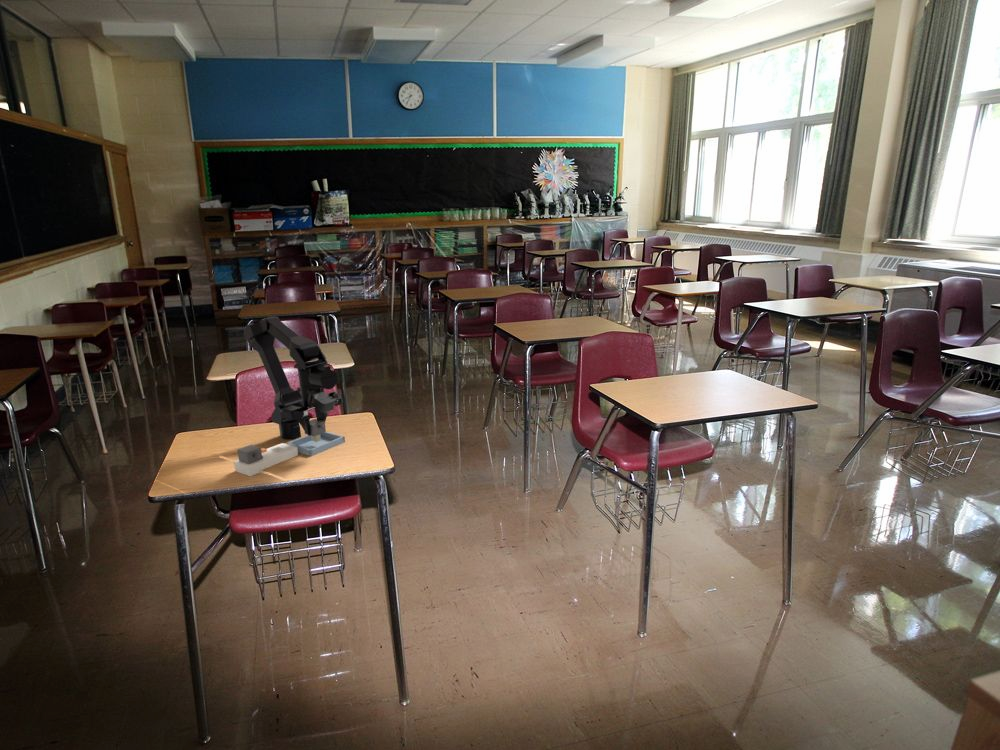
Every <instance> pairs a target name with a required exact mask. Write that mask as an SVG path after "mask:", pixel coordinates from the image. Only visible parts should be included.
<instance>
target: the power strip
mask: <svg viewBox="0 0 1000 750" xmlns="http://www.w3.org/2000/svg"><path fill="white" fill-rule="evenodd" d="M236 451H237V457H238V459H237V460H234V461H233V465H234V470H235V472H237V473H240V474H241V475H242V474H243V475H244V476H245V475H246V477H247V476H248V477H252V476H255V475H258V474H259V473H262V472H264V471H266V469H267V468H269V467H273V466H275V465H277V464H280V463H282V462H285V461H288V460H290V459H291V458H294V457H297V456H299V452H298V451H297V447H294V446H291V445H287V443H284V442H281V443H279V444H275V445H273V446H271V447H268V448H264V447H262V448H261V447H260V446H257V445H254V444H249V445H246V446H243V447H240V448H238V449H237V450H236Z"/></svg>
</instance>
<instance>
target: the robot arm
mask: <svg viewBox="0 0 1000 750" xmlns="http://www.w3.org/2000/svg"><path fill="white" fill-rule="evenodd" d="M243 336H244V338H245V339H246V341H247V343H248V345H249V347H250V348H252V349H253V350H255V352H257V353H258V355H259V357H260V359H261V362H262V364H263V367H264V369H265V372H266V374H267V376H268V379H269V381H270V384H271V386H272V388H273V391H274V394H275V396H274V401H273V406H274V410H273V412H272V413H271V415H270V418H271V421H272V423H274V424H277V425H278V427H279V436H280V438H281V439H282V440H297V439H299V438H302V433H301V432H302V431H301V428H302V429H303V431H304V433H305V432H306V434H305V435H306V436H307V435H308V436H310V435H311V430H310V422H309V421H310V420H311V418H312V415H310V414H309V412H308V411H312V410H314V411H315V416H316V419H318V420H322V421H325V422H326V421H327V417H328V414H329V413H330V412H331V411H333V410H335V407H337V406H340V405H343V398H342V396H341V395H340V394H339V393H338V392H337V391H331V392H325V390H332V389H333V388H334V387H335V386H336V385H337V383H338V378H339V377H338V375H337V373H336V371H334V370H333V369H331V365H329V364H328V361H327V357H326V356H325V354H324V353H323V351H322V350H321V349H322V348H321V347H320V346H319V344H318V343H317V342H316V341H314V339H313V340H312V339H311V338H308V337H303V336H300V335H299V334H298V333H296V332H295V331H293V330H292V329H291V328H290V327H289V326H287V325H286V324H285V323H284V322H282V320H281V318H280V317H278V316H270V317H264V318H263V319H261V320H259V321H257V322H255V323H249V324H246V326H245V328H244V329H243ZM275 340H277V341H278V342H279V343H280V344H282V345H283V346H284V347H285V348H287V350H288V351H289V357H290V358H291V359H292V360H294V362H295V364H294V365H293V368H294V369H297V373H298V383H299V387H297V388H296V390H295V389H294V388H292V387H291V385H290V382H289V381H288V377H287V375H286V373H285V371H284V368H283V365H282V363H281V361H280V359H279V357H278V354H277V350H276V348H275V346H274V345H275Z"/></svg>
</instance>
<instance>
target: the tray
mask: <svg viewBox="0 0 1000 750" xmlns="http://www.w3.org/2000/svg"><path fill="white" fill-rule="evenodd" d="M320 437H321V441H318V442H315V441H312V440H311V435H310V436H308V435H307V434H306V435H305V436H301V437H300V438H297V439H293V440H292V441H288V442H286V444H287V445H291V446H294V447H297V451H298V454H302V455H306V456H309V457H312V456H315V455H317V454H320V453H322V452H324V451H328V450H330V449H333V448H335V447H337V446H339V445H341V444H344V443H346V437H345V436H344V435H340V434H337V433H333V432H330V431H329V432H328V431H326V432H324V433H322V434H320Z"/></svg>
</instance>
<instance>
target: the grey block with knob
mask: <svg viewBox="0 0 1000 750" xmlns="http://www.w3.org/2000/svg"><path fill="white" fill-rule="evenodd" d="M309 422H310V430H311V440H312V441H315V442H318V441H321V437H320V434H322V433H324V432H327V430H326V421H322V420H318V419H317V418H314V419H310V420H309ZM304 434H305V435H307V434H306V432H305V431H304Z"/></svg>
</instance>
